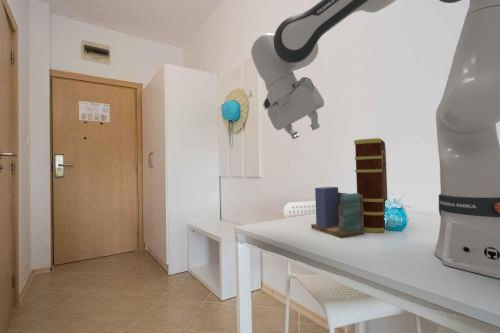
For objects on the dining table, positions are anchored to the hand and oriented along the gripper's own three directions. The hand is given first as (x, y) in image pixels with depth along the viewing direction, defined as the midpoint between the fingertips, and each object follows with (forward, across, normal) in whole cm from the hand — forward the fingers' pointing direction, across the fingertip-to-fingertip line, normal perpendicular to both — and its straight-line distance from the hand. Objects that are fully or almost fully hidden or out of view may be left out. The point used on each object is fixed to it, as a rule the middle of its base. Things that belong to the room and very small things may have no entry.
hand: (305, 133), depth 76 cm
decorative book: (+41, +8, -16) cm, 44 cm away
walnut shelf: (+34, +9, -1) cm, 35 cm away
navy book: (+32, +12, -2) cm, 34 cm away
